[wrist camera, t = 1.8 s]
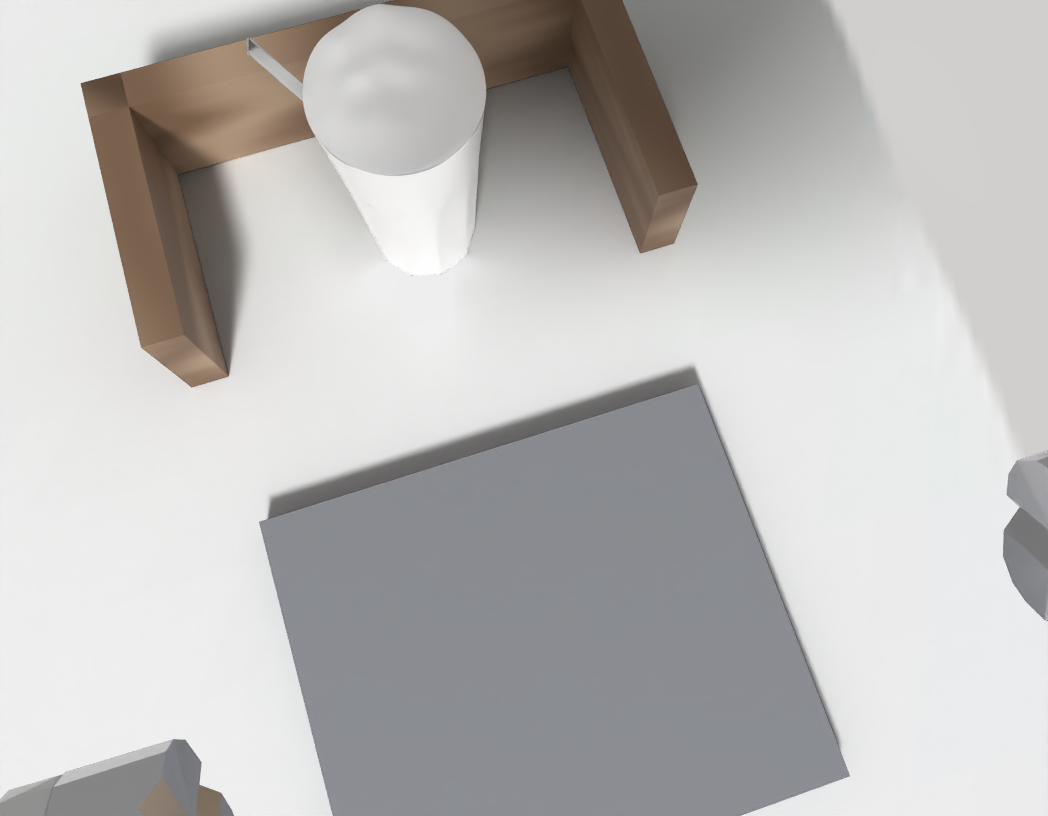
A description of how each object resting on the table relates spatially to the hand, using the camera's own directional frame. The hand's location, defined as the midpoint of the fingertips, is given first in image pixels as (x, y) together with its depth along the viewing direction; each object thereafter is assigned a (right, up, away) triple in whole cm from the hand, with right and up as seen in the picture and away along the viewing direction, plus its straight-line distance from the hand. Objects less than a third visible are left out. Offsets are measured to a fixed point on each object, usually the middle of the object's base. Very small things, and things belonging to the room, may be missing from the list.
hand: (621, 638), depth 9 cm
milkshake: (-5, +8, +22) cm, 23 cm away
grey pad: (0, -5, +18) cm, 19 cm away
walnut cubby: (-5, +9, +22) cm, 24 cm away
